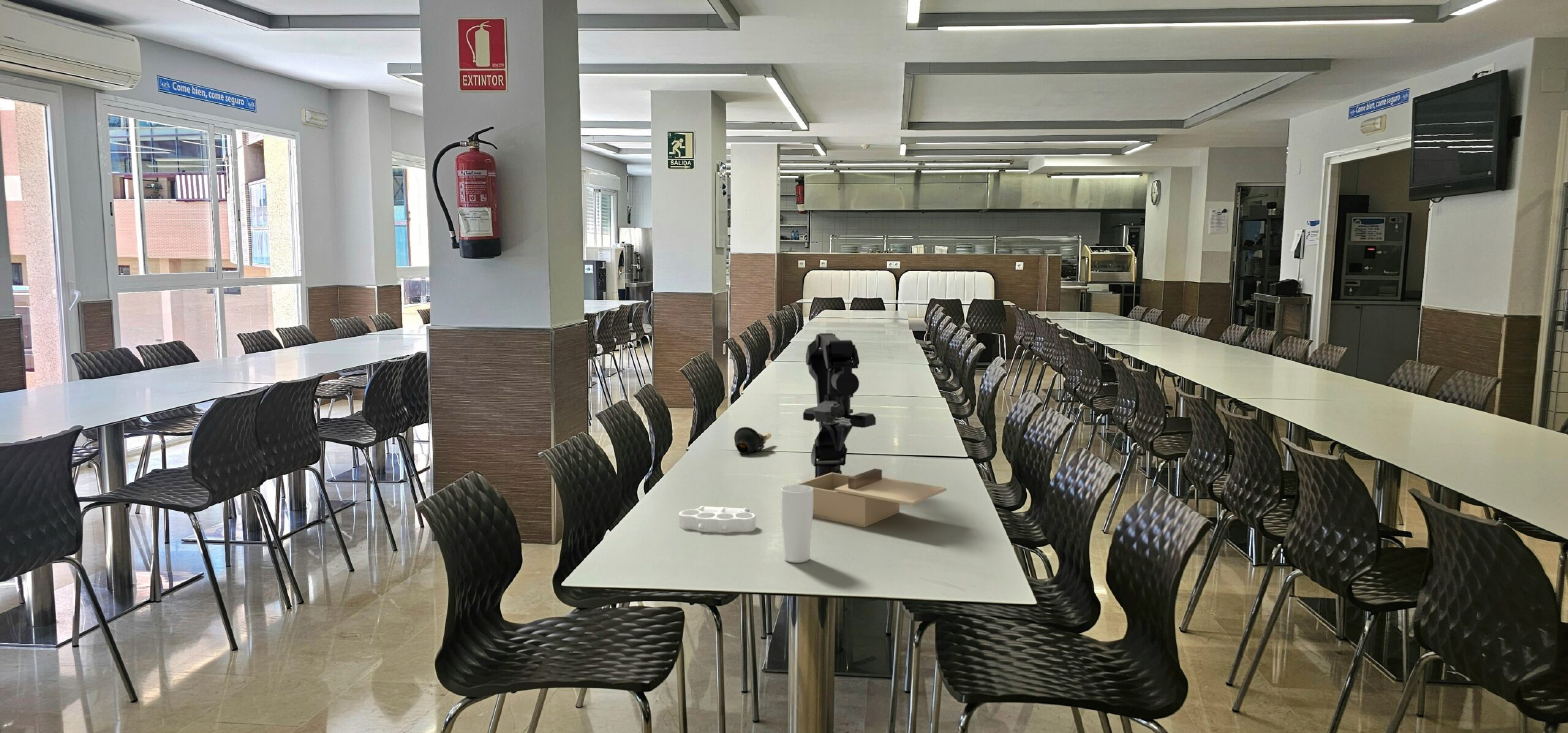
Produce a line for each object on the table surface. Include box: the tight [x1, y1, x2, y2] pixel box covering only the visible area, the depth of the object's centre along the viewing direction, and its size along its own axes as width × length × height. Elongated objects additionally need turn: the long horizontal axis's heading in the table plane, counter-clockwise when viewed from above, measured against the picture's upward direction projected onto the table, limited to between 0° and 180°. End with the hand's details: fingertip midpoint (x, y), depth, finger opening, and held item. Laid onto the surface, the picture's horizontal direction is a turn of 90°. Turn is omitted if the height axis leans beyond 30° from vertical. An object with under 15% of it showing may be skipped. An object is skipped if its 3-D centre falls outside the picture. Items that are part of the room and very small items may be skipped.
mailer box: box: [794, 473, 901, 528], centre depth 226 cm, size 20×16×7 cm
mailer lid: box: [835, 468, 948, 506], centre depth 218 cm, size 21×17×3 cm
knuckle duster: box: [678, 505, 757, 534], centre depth 216 cm, size 3×18×15 cm
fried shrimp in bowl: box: [733, 426, 772, 455], centre depth 298 cm, size 9×11×18 cm
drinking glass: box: [780, 484, 814, 564], centre depth 190 cm, size 7×7×15 cm
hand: (838, 450), depth 236 cm, fingers closed
